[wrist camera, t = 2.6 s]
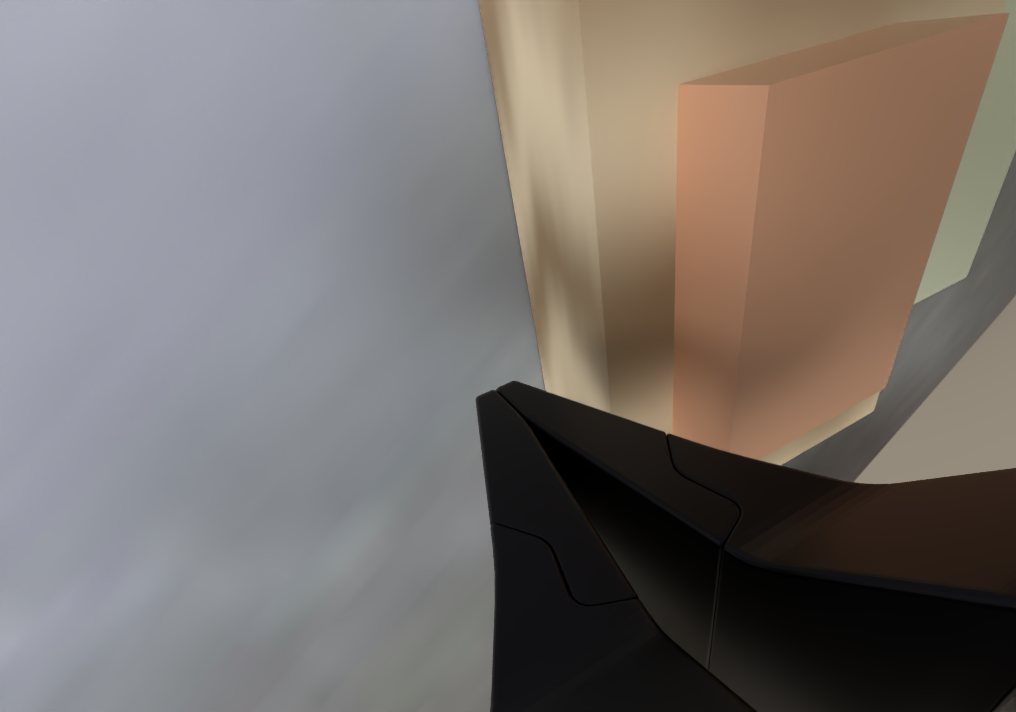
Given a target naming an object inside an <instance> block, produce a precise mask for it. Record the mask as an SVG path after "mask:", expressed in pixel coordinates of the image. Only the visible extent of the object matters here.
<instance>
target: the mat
mask: <svg viewBox="0 0 1016 712" xmlns="http://www.w3.org/2000/svg"><path fill="white" fill-rule="evenodd" d="M1009 12H1010V14H1009V17H1008V20H1007V23H1006V26H1005V29H1004V32H1003V35H1002V38H1001V41H1000V44H999V47H998V50H997V53H996V56H995V59H994V62H993V65H992V68H991V71H990V74H989V77H988V80H987V83H986V87H985V90H984V93H983V96H982V99H981V102H980V105H979V108H978V111H977V114H976V117H975V120H974V123H973V126H972V129H971V132H970V135H969V138H968V141H967V144H966V147H965V150H964V153H963V156H962V159H961V162H960V165H959V168H958V171H957V174H956V177H955V180H954V183H953V186H952V189H951V192H950V195H949V198H948V201H947V204H946V208H945V211H944V214H943V217H942V220H941V223H940V226H939V229H938V232H937V235H936V238H935V241H934V244H933V247H932V250H931V253H930V256H929V259H928V262H927V265H926V268H925V271H924V274H923V277H922V280H921V283H920V286H919V289H918V292H917V295H916V298H915V301H914V304H915V303H917V302H919V301H921V300H923V299H925V298H927V297H929V296H931V295H933V294H935V293H937V292H939V291H941V290H943V289H944V288H946V287H948V286H950V285H952V284H954V283H956V282H958V281H960V280H962V279H964V278H966V277H967V275H968V273H969V270H970V268H971V265H972V262H973V260H974V257H975V255H976V252H977V249H978V247H979V244H980V242H981V239H982V237H983V234H984V231H985V229H986V226H987V224H988V221H989V218H990V216H991V213H992V211H993V208H994V206H995V203H996V200H997V198H998V195H999V193H1000V190H1001V187H1002V185H1003V182H1004V180H1005V177H1006V174H1007V172H1008V169H1009V167H1010V164H1011V162H1012V159H1013V156H1014V154H1015V151H1016V0H1007V1H1006V4H1005V7H1004V10H1003V13H1009Z"/></svg>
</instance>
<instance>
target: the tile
mask: <svg viewBox="0 0 1016 712" xmlns="http://www.w3.org/2000/svg"><path fill="white" fill-rule="evenodd" d="M1009 14H1010V12H1009V13H998V14H987V15H976V16H965V17H954V18H943V19H932V20H921V21H910V22H899V23H894V24H890V25H887V26H883V27H880V28H876V29H873V30H869V31H866V32H862V33H859V34H855V35H852V36H848V37H845V38H841V39H838V40H834V41H830V42H827V43H823V44H820V45H816V46H813V47H809V48H806V49H802V50H799V51H795V52H792V53H788V54H785V55H781V56H778V57H774V58H770V59H767V60H763V61H760V62H756V63H753V64H749V65H746V66H742V67H739V68H735V69H732V70H728V71H725V72H721V73H717V74H714V75H710V76H707V77H703V78H700V79H696V80H693V81H689V82H686V83H682V84H679V85H678V129H677V190H676V252H675V313H674V374H673V435H676V436H679V437H682V438H685V439H688V440H691V441H694V442H697V443H700V444H703V445H706V446H710V447H713V448H716V449H719V450H723V451H727V452H730V453H734V454H738V455H742V456H745V457H749V458H753V459H757V460H760V459H761V458H763V457H765V456H767V455H769V454H770V453H772V452H774V451H776V450H777V449H779V448H781V447H783V446H784V445H786V444H788V443H790V442H791V441H793V440H795V439H797V438H798V437H800V436H802V435H804V434H805V433H807V432H809V431H811V430H812V429H814V428H816V427H818V426H819V425H821V424H823V423H825V422H826V421H828V420H830V419H832V418H833V417H835V416H837V415H839V414H840V413H842V412H844V411H846V410H847V409H849V408H851V407H853V406H854V405H856V404H858V403H860V402H862V401H863V400H865V399H867V398H869V397H870V396H872V395H874V394H876V393H877V392H879V391H881V390H883V389H884V388H886V386H887V383H888V380H889V377H890V374H891V371H892V368H893V365H894V362H895V359H896V356H897V353H898V350H899V347H900V344H901V341H902V338H903V335H904V332H905V329H906V326H907V322H908V319H909V316H910V313H911V310H912V307H913V304H914V301H915V298H916V295H917V292H918V289H919V286H920V283H921V280H922V277H923V274H924V271H925V268H926V265H927V262H928V259H929V256H930V253H931V250H932V247H933V244H934V241H935V238H936V235H937V232H938V229H939V226H940V223H941V220H942V217H943V214H944V211H945V208H946V204H947V201H948V198H949V195H950V192H951V189H952V186H953V183H954V180H955V177H956V174H957V171H958V168H959V165H960V162H961V159H962V156H963V153H964V150H965V147H966V144H967V141H968V138H969V135H970V132H971V129H972V126H973V123H974V120H975V117H976V114H977V111H978V108H979V105H980V102H981V99H982V96H983V93H984V90H985V87H986V83H987V80H988V77H989V74H990V71H991V68H992V65H993V62H994V59H995V56H996V53H997V50H998V47H999V44H1000V41H1001V38H1002V35H1003V32H1004V29H1005V26H1006V23H1007V20H1008V17H1009Z"/></svg>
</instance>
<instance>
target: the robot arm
mask: <svg viewBox="0 0 1016 712" xmlns="http://www.w3.org/2000/svg"><path fill="white" fill-rule="evenodd" d="M476 408H477V416H478V425H479V433H480V441H481V450H482V458H483V467H484V475H485V484H486V492H487V500H488V509H489V517H490V524H491V536H492V545H493V557H494V570H495V612H494V639H493V666H492V692H491V708H490V712H1016V468H1012V469H1005V470H997V471H988V472H980V473H973V474H965V475H958V476H950V477H942V478H934V479H926V480H918V481H911V482H904V483H895V484H863V483H855V482H848V481H842V480H838V479H833V478H829V477H825V476H821V475H817V474H813V473H809V472H805V471H801V470H797V469H793V468H789V467H785V466H781V465H777V464H773V463H769V462H765V461H761V460H757V459H753V458H749V457H745V456H742V455H738V454H734V453H730V452H727V451H723V450H719V449H716V448H713V447H710V446H706V445H703V444H700V443H697V442H694V441H691V440H688V439H685V438H682V437H679V436H676V435H673V434H670V433H669V434H667V436H666V433H665V432H664V431H661V430H658V429H655V428H652V427H649V426H646V425H643V424H640V423H637V422H635V421H632V420H629V419H626V418H623V417H620V416H617V415H614V414H611V413H608V412H605V411H602V410H599V409H597V408H594V407H591V406H588V405H585V404H582V403H579V402H576V401H573V400H570V399H567V398H564V397H562V396H559V395H556V394H553V393H550V392H547V391H544V390H541V389H538V388H535V387H532V386H529V385H526V384H524V383H521V382H518V381H512V382H509V383H507V384H505V385H502V386H500V387H498V388H497V389H496V391H495V390H491V391H489V392H486V393H484V394H482V395H480V396H478V397H477V398H476Z"/></svg>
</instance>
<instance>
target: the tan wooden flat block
mask: <svg viewBox="0 0 1016 712" xmlns="http://www.w3.org/2000/svg"><path fill="white" fill-rule="evenodd" d="M1006 1H1007V0H478V2H479V7H480V13H481V19H482V25H483V30H484V36H485V42H486V48H487V54H488V59H489V65H490V71H491V77H492V83H493V88H494V94H495V100H496V106H497V111H498V117H499V123H500V129H501V135H502V140H503V146H504V152H505V158H506V164H507V169H508V175H509V181H510V187H511V192H512V198H513V204H514V210H515V216H516V221H517V227H518V233H519V239H520V245H521V250H522V256H523V262H524V268H525V273H526V279H527V285H528V291H529V297H530V302H531V308H532V314H533V320H534V326H535V331H536V337H537V343H538V349H539V354H540V360H541V366H542V372H543V378H544V383H545V389H546V391H547V392H550V393H553V394H556V395H559V396H562V397H564V398H567V399H570V400H573V401H576V402H579V403H582V404H585V405H588V406H591V407H594V408H597V409H599V410H602V411H605V412H608V413H611V414H614V415H617V416H620V417H623V418H626V419H629V420H632V421H635V422H637V423H640V424H643V425H646V426H649V427H652V428H655V429H658V430H661V431H664V432H665V433H666V436H667V434H669V433H670V434H673V374H674V313H675V252H676V190H677V129H678V85H679V84H682V83H686V82H689V81H693V80H696V79H700V78H703V77H707V76H710V75H714V74H717V73H721V72H725V71H728V70H732V69H735V68H739V67H742V66H746V65H749V64H753V63H756V62H760V61H763V60H767V59H770V58H774V57H778V56H781V55H785V54H788V53H792V52H795V51H799V50H802V49H806V48H809V47H813V46H816V45H820V44H823V43H827V42H830V41H834V40H838V39H841V38H845V37H848V36H852V35H855V34H859V33H862V32H866V31H869V30H873V29H876V28H880V27H883V26H887V25H890V24H894V23H899V22H910V21H921V20H932V19H943V18H954V17H965V16H976V15H987V14H998V13H1003V10H1004V7H1005V4H1006ZM879 393H880V391H879V392H877V393H876V394H874V395H872V396H870V397H869V398H867V399H865V400H863V401H862V402H860V403H858V404H856V405H854V406H853V407H851V408H849V409H847V410H846V411H844V412H842V413H840V414H839V415H837V416H835V417H833V418H832V419H830V420H828V421H826V422H825V423H823V424H821V425H819V426H818V427H816V428H814V429H812V430H811V431H809V432H807V433H805V434H804V435H802V436H800V437H798V438H797V439H795V440H793V441H791V442H790V443H788V444H786V445H784V446H783V447H781V448H779V449H777V450H776V451H774V452H772V453H770V454H769V455H767V456H765V457H763V458H761V459H760V460H761V461H765V462H769V463H773V464H777V465H782V464H784V463H786V462H787V461H789V460H791V459H792V458H794V457H796V456H798V455H799V454H801V453H803V452H804V451H806V450H808V449H810V448H811V447H813V446H815V445H816V444H818V443H820V442H822V441H823V440H825V439H827V438H829V437H830V436H832V435H834V434H835V433H837V432H839V431H841V430H842V429H844V428H846V427H847V426H849V425H851V424H853V423H854V422H856V421H858V420H859V419H861V418H863V417H865V416H866V415H868V414H870V413H871V412H873V411H874V408H875V405H876V402H877V399H878V396H879Z"/></svg>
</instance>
